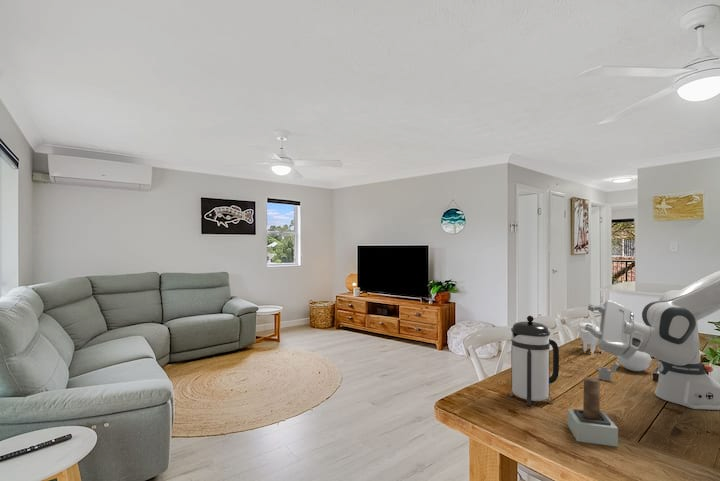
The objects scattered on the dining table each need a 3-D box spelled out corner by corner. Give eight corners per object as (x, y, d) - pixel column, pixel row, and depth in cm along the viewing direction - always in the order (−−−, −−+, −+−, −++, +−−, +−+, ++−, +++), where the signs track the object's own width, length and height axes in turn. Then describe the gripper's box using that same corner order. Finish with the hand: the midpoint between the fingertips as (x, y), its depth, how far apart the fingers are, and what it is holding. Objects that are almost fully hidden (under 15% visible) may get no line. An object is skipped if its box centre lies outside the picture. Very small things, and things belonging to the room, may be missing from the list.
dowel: (598, 434, 109) (599, 379, 110) (599, 439, 106) (600, 383, 106) (582, 430, 111) (583, 376, 112) (583, 436, 108) (584, 380, 108)
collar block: (604, 429, 112) (604, 410, 112) (618, 446, 102) (617, 426, 102) (567, 425, 115) (567, 406, 115) (577, 441, 105) (577, 421, 105)
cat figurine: (586, 346, 209) (586, 316, 210) (608, 350, 202) (608, 319, 202) (573, 355, 192) (573, 322, 192) (596, 359, 184) (596, 325, 184)
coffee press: (555, 412, 123) (555, 321, 124) (504, 401, 132) (504, 316, 132) (559, 395, 138) (559, 314, 138) (513, 386, 146) (513, 310, 147)
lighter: (598, 379, 156) (598, 360, 156) (598, 378, 157) (598, 359, 157) (619, 383, 152) (619, 363, 152) (619, 381, 153) (619, 362, 153)
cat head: (648, 378, 158) (648, 349, 158) (612, 370, 167) (612, 343, 168) (656, 371, 167) (656, 343, 168) (622, 364, 177) (622, 338, 178)
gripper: (638, 306, 126) (594, 289, 131) (637, 353, 113) (588, 333, 118) (629, 317, 131) (586, 300, 136) (626, 363, 118) (579, 344, 123)
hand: (587, 316), depth 127 cm, fingers open, 8 cm apart
